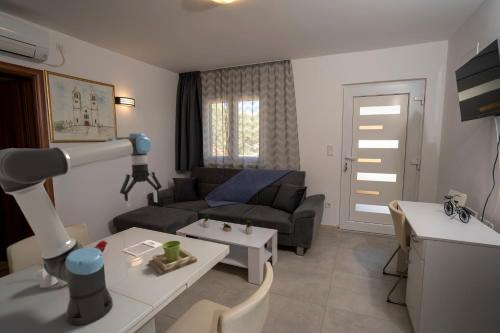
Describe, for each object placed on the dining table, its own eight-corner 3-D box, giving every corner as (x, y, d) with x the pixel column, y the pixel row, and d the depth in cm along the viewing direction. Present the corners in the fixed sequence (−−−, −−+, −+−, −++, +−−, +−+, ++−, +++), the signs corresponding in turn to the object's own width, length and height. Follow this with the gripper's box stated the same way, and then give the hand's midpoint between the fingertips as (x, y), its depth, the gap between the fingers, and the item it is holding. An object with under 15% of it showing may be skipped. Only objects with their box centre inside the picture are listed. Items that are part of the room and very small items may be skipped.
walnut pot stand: (160, 275, 122) (159, 268, 122) (148, 263, 134) (147, 257, 134) (197, 261, 135) (196, 255, 135) (183, 251, 147) (183, 246, 147)
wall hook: (60, 290, 111) (53, 268, 110) (42, 293, 113) (35, 272, 112) (76, 280, 118) (69, 260, 118) (59, 283, 121) (52, 263, 120)
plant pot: (174, 265, 128) (173, 248, 127) (159, 262, 131) (158, 246, 130) (185, 256, 137) (184, 241, 136) (170, 254, 140) (169, 239, 139)
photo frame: (163, 243, 158) (136, 255, 143) (163, 245, 158) (136, 257, 143) (149, 239, 166) (122, 249, 151) (149, 240, 166) (122, 251, 151)
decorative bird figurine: (109, 257, 143) (108, 240, 142) (71, 267, 132) (69, 249, 131) (108, 255, 145) (107, 238, 144) (71, 265, 134) (69, 247, 133)
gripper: (160, 161, 141) (163, 198, 143) (110, 165, 124) (114, 207, 127) (166, 162, 135) (168, 201, 137) (114, 166, 119) (118, 210, 121)
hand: (142, 204), depth 132 cm, fingers open, 13 cm apart
